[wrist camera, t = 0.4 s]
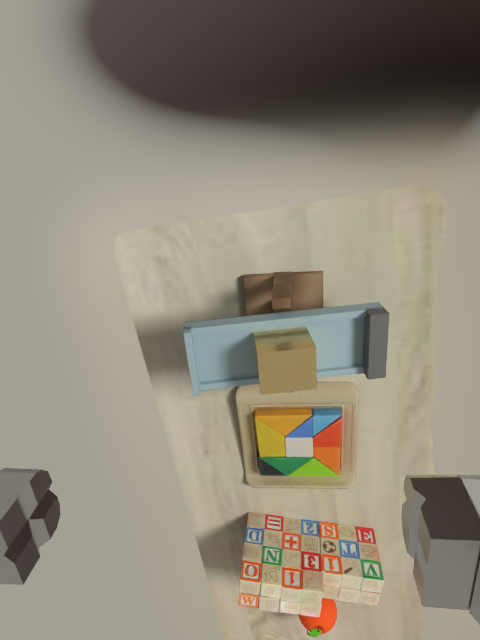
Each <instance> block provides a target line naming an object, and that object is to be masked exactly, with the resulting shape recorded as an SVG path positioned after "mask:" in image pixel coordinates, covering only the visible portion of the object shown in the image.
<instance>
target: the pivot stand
mask: <svg viewBox="0 0 480 640" xmlns="http://www.w3.org/2000/svg"><path fill="white" fill-rule="evenodd" d="M243 282H244V293H245V304H246V315H247V316H252V315H262V314H271V313H281V312H290V311H300V310H309V309H319V308H323V271H309V272H275V273H270V274H250V275H244V276H243ZM293 392H294V391H293ZM284 393H287V392H284Z"/></svg>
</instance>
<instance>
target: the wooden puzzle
mask: <svg viewBox="0 0 480 640" xmlns="http://www.w3.org/2000/svg"><path fill="white" fill-rule="evenodd" d="M235 401H236V409H237V416H238V423H239V431H240V438H241V445H242V453H243V461H244V469H245V477H246V481H247V483H248V484H249V485H250V486H251V487H254V488H324V489H348V488H350V487H352V486H353V484H354V482H355V477H356V447H357V422H358V401H359V397H358V390H357V388H356V386H355V385H354V384H353V383H351V382H317V389H312V390H302V391H294V392H287V393H275V394H265V395H261V394H260V388H259V384H257V385H248V386H239V387H238V388H237V390H236V393H235Z"/></svg>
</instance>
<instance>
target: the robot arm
mask: <svg viewBox="0 0 480 640" xmlns="http://www.w3.org/2000/svg"><path fill="white" fill-rule="evenodd" d="M51 484H52V480H51V478H50V476H49V473H48V471H44V470H37V469H13V468H4V469H1V468H0V584H24V583H25V581H26V579H27V577H28V576H29V574H30V573H31V571H32V569H33V568H34V566H35V564H36V563H37V561H38V559H39V558H40V553H39V547H40V546H41V545H43V544H44V543H46V542H47V541H48V540H50V539H51V537H52V535H53V534H54V532H55V530H56V528H57V525H58V521H59V517H60V504H59V501H58V498H57V496H56V495H55V494H54V493H52V492H51V491H50V490H49V488H50V486H51ZM404 492H405V495H406V498H407V501H406V502H405V503H404V504H403V505H402V530H403V536H404V541H405V545H406V549H407V553H408V554H409V555H410V556H411V557H412V558H413V559H414V569H413V575H414V578H415V582H416V585H417V589H418V593H419V596H420V600H421V603H422V606H424V607H436V608H448V609H461V610H470V612H469V613H470V614H471V615H472V616H473V617H474V619H475V620H476V621H477V622H478V623H479V624H480V475H456V476H455V475H406V477H405V481H404Z"/></svg>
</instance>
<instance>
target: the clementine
mask: <svg viewBox="0 0 480 640" xmlns="http://www.w3.org/2000/svg"><path fill="white" fill-rule="evenodd" d="M298 615H299V618H300V620H301V623H302V624H303V625H304V627H305V628H306V629H307V634H308V635H309V636H312V637H316V636H318V635H319V634H324V633H326V632H328V631H330V630H331V629H332V627H333V626H334V624H335V622H336V618H337V608H336V604H335V602H334V600H333V599H327V598H322V606H321V612H320V617H312V616H305V615H300V614H298ZM308 630H309V631H310V632H311V633H310V634H309V632H308Z"/></svg>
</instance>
